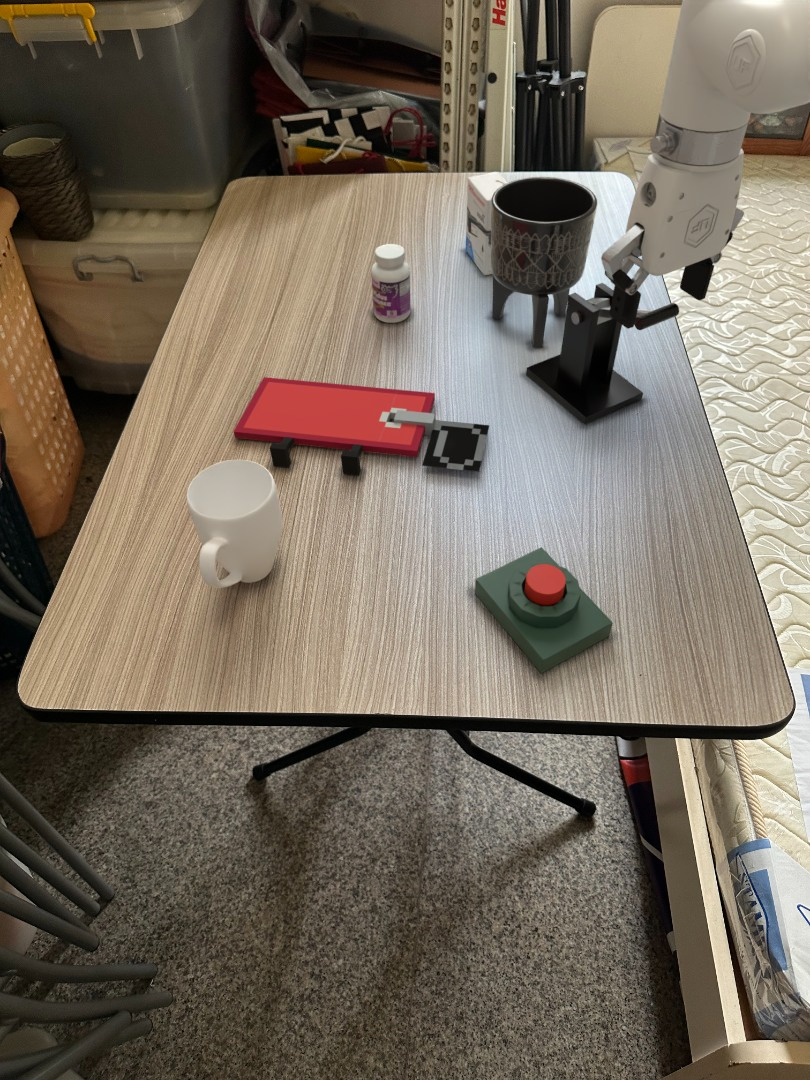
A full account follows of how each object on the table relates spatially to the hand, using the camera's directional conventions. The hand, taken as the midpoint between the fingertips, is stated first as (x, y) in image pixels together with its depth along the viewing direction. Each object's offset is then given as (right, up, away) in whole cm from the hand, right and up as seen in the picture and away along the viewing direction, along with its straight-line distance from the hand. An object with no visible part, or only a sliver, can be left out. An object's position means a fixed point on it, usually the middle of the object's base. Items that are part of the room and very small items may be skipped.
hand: (657, 307), depth 82 cm
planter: (-9, +6, +27) cm, 29 cm away
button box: (-13, -32, -6) cm, 35 cm away
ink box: (-14, +19, +39) cm, 46 cm away
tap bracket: (-4, -5, +17) cm, 18 cm away
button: (-14, -29, -9) cm, 34 cm away
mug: (-43, -29, -2) cm, 52 cm away
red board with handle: (-32, -12, +13) cm, 36 cm away
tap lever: (-2, 0, +6) cm, 6 cm away
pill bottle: (-28, +8, +30) cm, 42 cm away
